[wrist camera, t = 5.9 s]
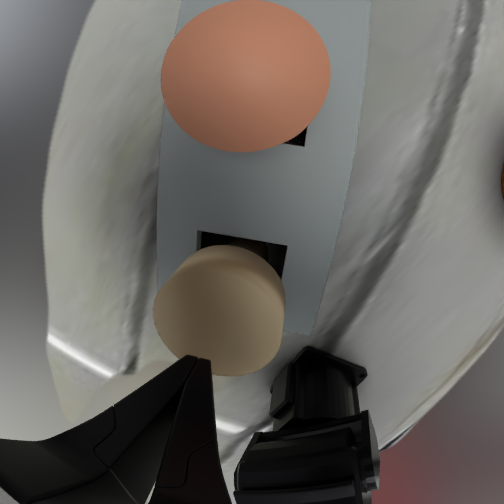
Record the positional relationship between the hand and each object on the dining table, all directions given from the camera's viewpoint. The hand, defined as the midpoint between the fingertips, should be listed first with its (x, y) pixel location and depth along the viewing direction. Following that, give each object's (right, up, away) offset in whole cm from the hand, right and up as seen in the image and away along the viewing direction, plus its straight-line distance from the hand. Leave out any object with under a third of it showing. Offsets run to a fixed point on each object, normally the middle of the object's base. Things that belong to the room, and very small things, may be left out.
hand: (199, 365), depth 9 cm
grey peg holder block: (+3, +13, +7) cm, 15 cm away
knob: (+1, +3, +9) cm, 9 cm away
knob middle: (+3, +12, +5) cm, 13 cm away
